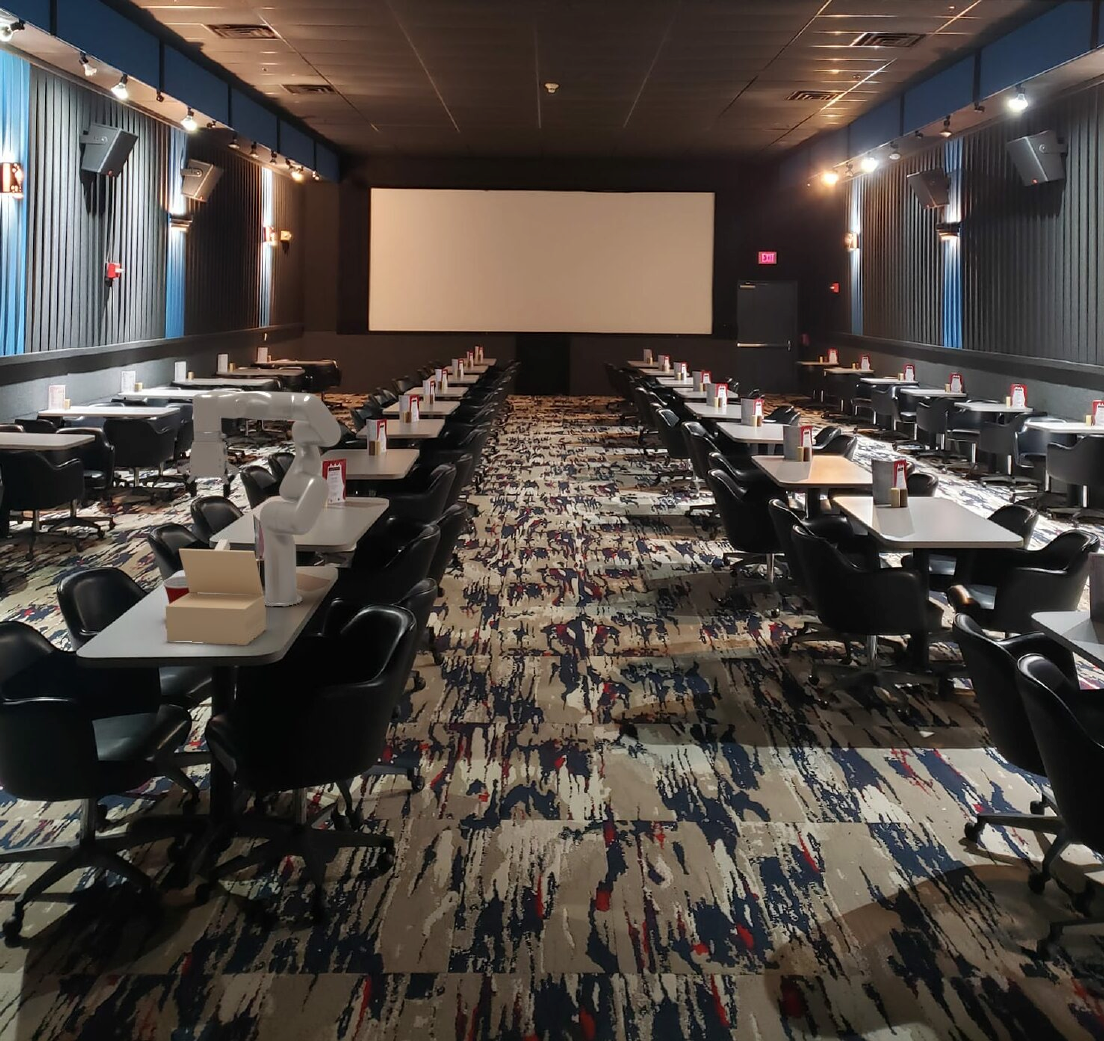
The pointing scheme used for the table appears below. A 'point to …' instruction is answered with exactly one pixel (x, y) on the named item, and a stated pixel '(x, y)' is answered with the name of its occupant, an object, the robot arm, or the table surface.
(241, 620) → the carton
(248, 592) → the flap
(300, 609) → the table surface
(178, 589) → the plastic cup
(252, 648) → the table surface
